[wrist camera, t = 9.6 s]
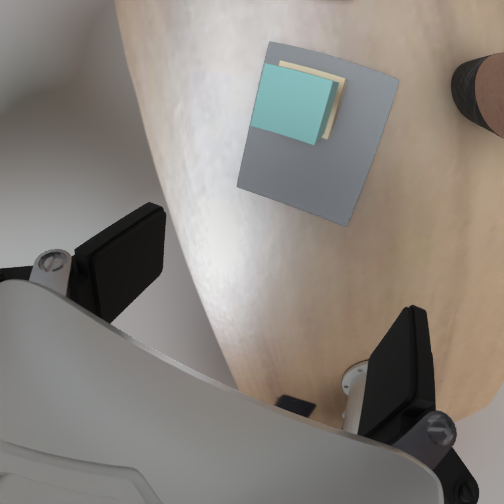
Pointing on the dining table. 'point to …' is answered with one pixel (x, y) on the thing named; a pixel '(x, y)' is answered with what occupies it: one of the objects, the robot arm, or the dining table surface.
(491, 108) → the travel mug
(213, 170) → the dining table surface
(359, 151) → the build board
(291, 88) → the teal block
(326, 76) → the beech block
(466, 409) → the dining table surface
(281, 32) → the dining table surface
